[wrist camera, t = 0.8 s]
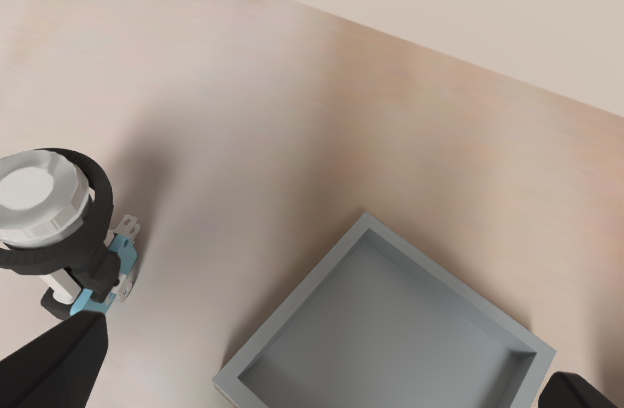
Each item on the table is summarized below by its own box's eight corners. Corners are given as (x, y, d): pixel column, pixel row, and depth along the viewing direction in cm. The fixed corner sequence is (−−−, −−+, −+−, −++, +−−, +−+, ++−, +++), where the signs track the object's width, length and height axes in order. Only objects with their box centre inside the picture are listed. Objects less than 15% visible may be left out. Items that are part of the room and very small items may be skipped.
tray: (421, 587, 19) (439, 599, 17) (215, 387, 22) (212, 379, 21) (534, 360, 25) (556, 351, 23) (358, 228, 28) (365, 210, 27)
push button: (98, 215, 27) (27, 94, 18) (180, 241, 26) (146, 131, 18) (30, 317, 23) (-97, 225, 15) (123, 349, 23) (48, 274, 15)
